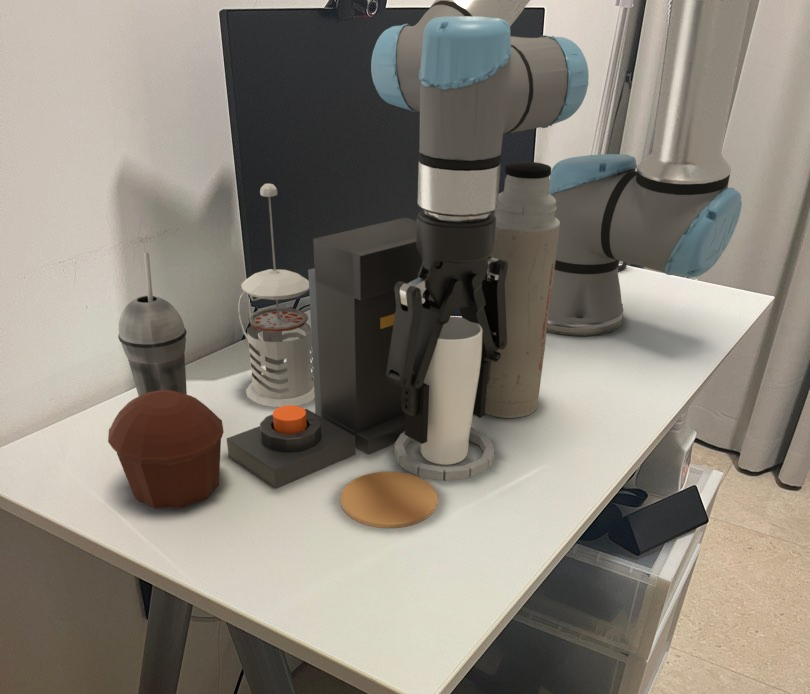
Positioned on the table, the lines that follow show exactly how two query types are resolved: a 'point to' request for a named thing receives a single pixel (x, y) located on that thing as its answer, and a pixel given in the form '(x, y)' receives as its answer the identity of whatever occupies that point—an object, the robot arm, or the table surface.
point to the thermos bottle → (523, 286)
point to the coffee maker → (368, 340)
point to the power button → (289, 419)
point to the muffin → (168, 448)
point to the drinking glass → (452, 391)
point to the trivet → (389, 499)
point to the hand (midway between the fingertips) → (445, 425)
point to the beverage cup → (154, 342)
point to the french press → (278, 336)
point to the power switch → (290, 449)
